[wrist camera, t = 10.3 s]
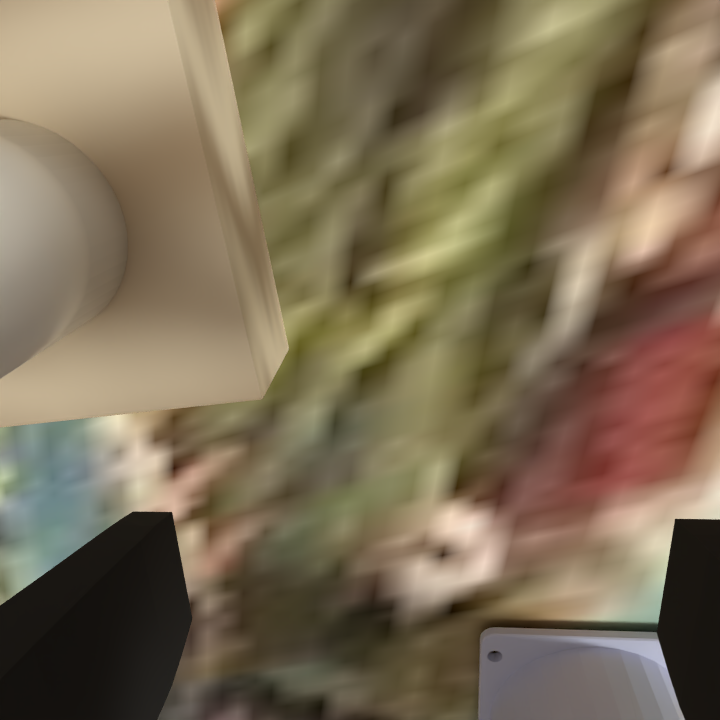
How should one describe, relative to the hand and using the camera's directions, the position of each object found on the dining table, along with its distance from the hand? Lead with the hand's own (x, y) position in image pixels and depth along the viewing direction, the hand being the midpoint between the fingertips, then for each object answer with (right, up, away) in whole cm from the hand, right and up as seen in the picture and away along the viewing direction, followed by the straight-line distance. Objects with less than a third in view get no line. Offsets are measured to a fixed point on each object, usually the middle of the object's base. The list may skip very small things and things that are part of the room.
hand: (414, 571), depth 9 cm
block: (-9, +8, +10) cm, 15 cm away
